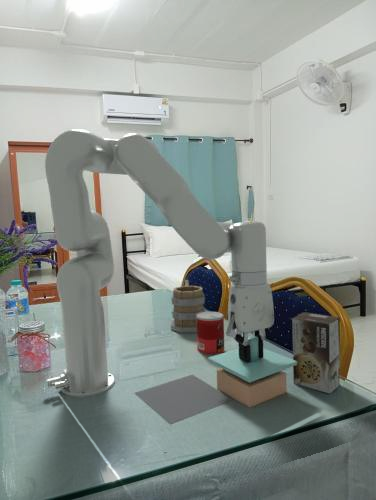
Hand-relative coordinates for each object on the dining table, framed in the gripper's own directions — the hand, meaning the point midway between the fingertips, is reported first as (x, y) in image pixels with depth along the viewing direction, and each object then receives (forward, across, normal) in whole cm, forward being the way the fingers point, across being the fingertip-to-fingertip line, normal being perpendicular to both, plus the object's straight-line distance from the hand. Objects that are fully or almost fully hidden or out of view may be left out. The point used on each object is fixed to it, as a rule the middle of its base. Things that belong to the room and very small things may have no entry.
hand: (251, 357), depth 87 cm
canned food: (+8, +8, +26) cm, 29 cm away
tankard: (+8, +18, +52) cm, 56 cm away
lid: (+1, 0, 0) cm, 1 cm away
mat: (+8, -14, +7) cm, 18 cm away
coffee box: (+9, +15, -6) cm, 18 cm away
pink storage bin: (+8, 0, 0) cm, 8 cm away
